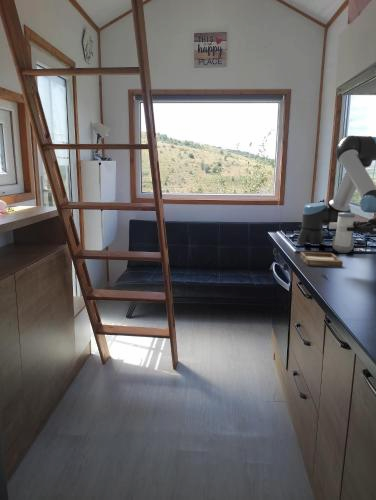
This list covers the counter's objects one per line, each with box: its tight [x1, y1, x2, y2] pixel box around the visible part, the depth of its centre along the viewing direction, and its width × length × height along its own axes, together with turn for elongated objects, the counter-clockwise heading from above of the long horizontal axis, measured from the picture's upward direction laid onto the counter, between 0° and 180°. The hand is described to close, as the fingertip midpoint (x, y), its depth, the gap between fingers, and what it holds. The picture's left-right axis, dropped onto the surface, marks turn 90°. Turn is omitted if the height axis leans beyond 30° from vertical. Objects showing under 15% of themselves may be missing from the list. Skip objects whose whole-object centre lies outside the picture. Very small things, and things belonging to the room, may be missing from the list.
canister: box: [335, 212, 356, 247], centre depth 171 cm, size 7×7×14 cm
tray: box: [299, 251, 344, 268], centre depth 189 cm, size 16×16×2 cm
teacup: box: [332, 235, 355, 254], centre depth 211 cm, size 14×11×8 cm
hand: (334, 227), depth 169 cm, fingers closed on canister, 6 cm apart
